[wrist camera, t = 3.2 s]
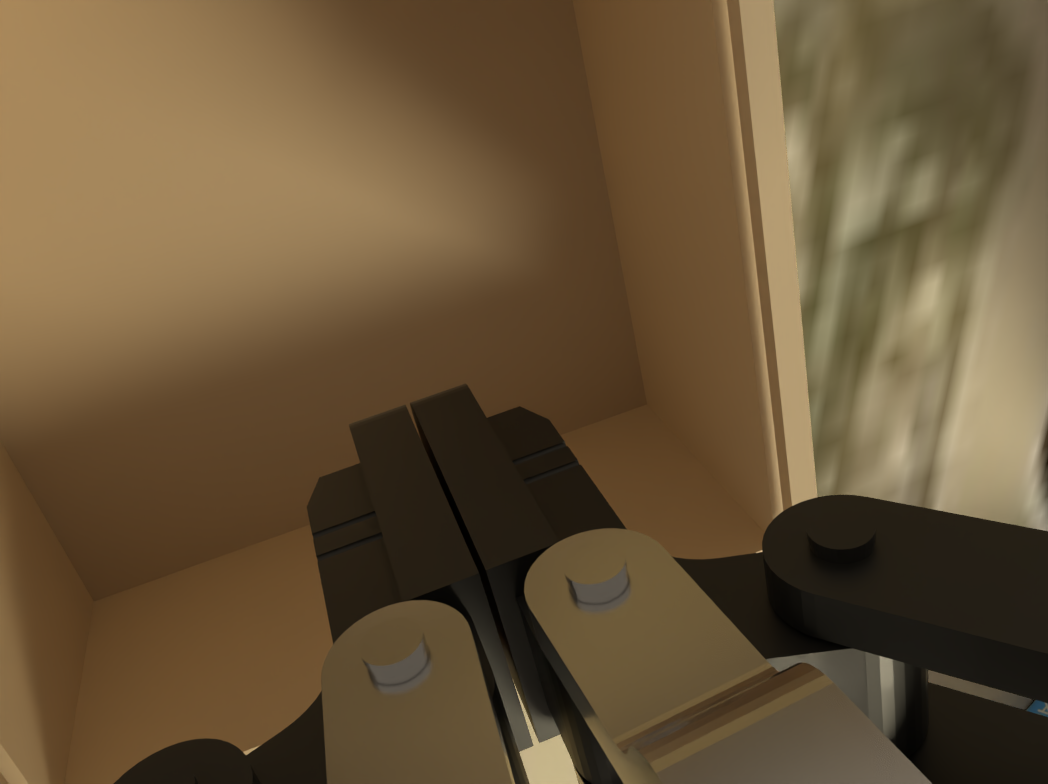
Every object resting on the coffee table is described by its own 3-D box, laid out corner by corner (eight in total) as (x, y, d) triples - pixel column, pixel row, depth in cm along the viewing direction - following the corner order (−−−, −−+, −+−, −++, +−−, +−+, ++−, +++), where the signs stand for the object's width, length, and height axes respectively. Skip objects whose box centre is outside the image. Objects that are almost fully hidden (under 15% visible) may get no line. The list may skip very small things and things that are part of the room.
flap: (727, -205, 13) (755, -207, 8) (802, 538, 19) (843, 786, 14) (704, -199, 13) (717, -199, 8) (786, 539, 19) (821, 787, 14)
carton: (541, -234, 19) (704, -309, 13) (658, 416, 26) (796, 568, 20) (-289, -32, 16) (-580, -3, 10) (93, 619, 24) (55, 860, 17)
